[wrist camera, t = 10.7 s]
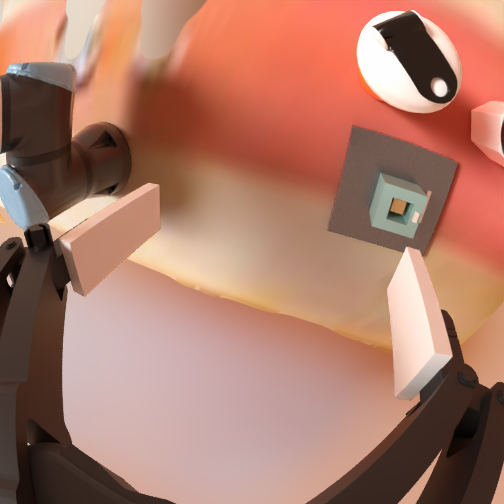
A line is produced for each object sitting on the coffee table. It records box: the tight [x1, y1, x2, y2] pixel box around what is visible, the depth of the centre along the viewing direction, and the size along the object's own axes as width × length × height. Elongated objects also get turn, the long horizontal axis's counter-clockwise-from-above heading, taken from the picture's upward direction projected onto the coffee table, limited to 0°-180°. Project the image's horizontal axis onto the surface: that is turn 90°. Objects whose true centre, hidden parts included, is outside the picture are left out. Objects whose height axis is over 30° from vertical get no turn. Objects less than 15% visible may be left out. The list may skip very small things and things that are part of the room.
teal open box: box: [369, 173, 428, 239], centre depth 33 cm, size 6×6×5 cm
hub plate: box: [328, 125, 458, 257], centre depth 34 cm, size 16×16×6 cm
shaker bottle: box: [356, 10, 462, 113], centre depth 21 cm, size 9×9×20 cm
